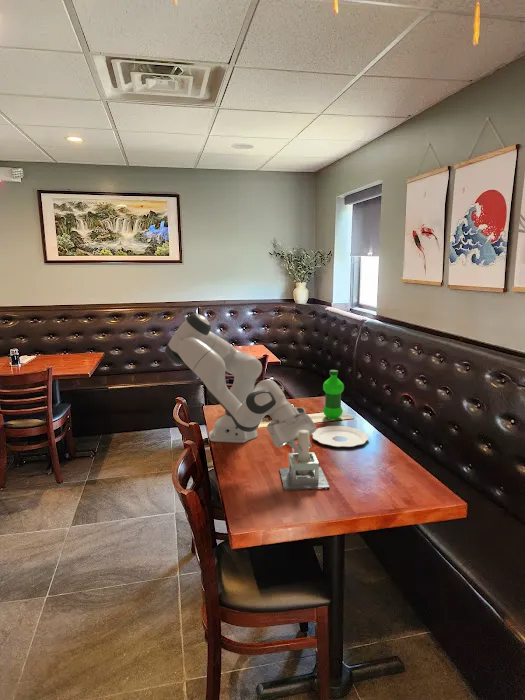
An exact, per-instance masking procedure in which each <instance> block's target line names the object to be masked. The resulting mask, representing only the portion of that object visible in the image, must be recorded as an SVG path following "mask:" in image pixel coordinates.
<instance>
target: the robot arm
mask: <svg viewBox="0 0 525 700" xmlns="http://www.w3.org/2000/svg"><path fill="white" fill-rule="evenodd" d="M211 325H212V324H211V323H210V322H209V320H208V319H207V317H205V316H204V315H202V314H199V313H197V312H196V313H191V314H189V315H188V316H187V317H186V318H185V320H184V321H183V323H181V325H180V326H179V327H178V328H177V329H176V330H175V333H174V334H173V335H172V337H171V338H170V340H169V342H168V343H167V344H166V346H165V347H164V354H165V356H166V357H167V359H168V360H169V361H171V362H172V363H174V364H176V365H178V366H179V365H186V366H187V367H188V369H190V370H191V371H192V372H193V373H194V374H195V375H196V376H198V378H199V379H200V381H202V382H203V384H204V386H205V387H206V389H207V390H208V392H209V393H210V395H211V396H212V397H213V398H214V399H215V400H216V401H217V402H218V404H219V405H220V406H221V407H222V408H223V409H224V410H225V412H224V414H223V415H222V416H220V417H219V418H218V419H217V420H215V423H214V425H213V429H211V430H210V431H209V433H208V439H209V441H211V442H215V443H217V442H218V443H239V444H242V443H247V442H248V441H251V440H253V439H256V438H257V437H258V430H257V429H258V428H259V426H260V424H261V423H262V421H263V420H264V418H265V416H270V418H271V420H272V422H269V423H268V424H267V428H266V429H267V430H268V433H269V435H270V438H271V440H272V442H273V444H274V446H275V447H277V448H281V447H284V446H286V445H289V447H291V448H292V449H293V450H294V451H295V453H299V452H301V451H302V448H301V447H300V446H299V447H298V444H296V442H297V441H298V431H299V430H308V431H309V436H310V435H312V433H314V432H315V431H316V429H317V426H316V424H315V422H314V421H313V419H312V418H311V416H310V415H309V414H307V411H306V409H305V408H304V407H298V406H297V407H296V406H292V404H291V403H290V402H289V401H288V400H287V398H286V396H285V392H284V393H283V392H282V390H281V389H280V387H279V386H280V385H279V384H277V383H276V382H275V381H274V380H273V379H270V378H267V379H263V380H261V381H259V382H258V383H256V382H257V379H258V378H259V377H260V376H261V374H262V371H263V365H262V362H261V361H260V360H259V359H258V358H257V357H256V356H254V355H252V354H248V353H245V352H244V351H240V350H239V349H237V348H235V347H234V346H233V345H232V344H230V343H229V342H228V341H227V340H226V339H223V338H222V337H221V336H219V335H218V334H215V332H212V331H211V330H212V329H211V328H212V326H211ZM226 372H227V373H229V374H230V375H233V378H234V379H233V382H232V383H233V384H232V386H231V387H230V388H228V386H227V382H226ZM268 414H269V415H268ZM312 447H313V446H312V443H311V441H310V438H309V449H310V448H312Z"/></svg>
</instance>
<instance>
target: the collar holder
mask: <svg viewBox="0 0 525 700" xmlns="http://www.w3.org/2000/svg"><path fill="white" fill-rule="evenodd" d="M296 461H297V462H296ZM279 470H280V471H279V475H280V474H281V475H280V478H281V482H282V483H283V484H282V488H283V491H284V490H293V491H301V490H300V489H318V488H330V484H329V482H328V480H327V478H326V475H325V473H324V471H323V469H322V467H321V466H320V464H319V460H318V458H317V456H316V454H315V452H311V451H309V462H298V453H297V452H289V453H288V467H284V468H282V467H281V468H279ZM298 470H309V475H307V476H301V475H299V474H298Z"/></svg>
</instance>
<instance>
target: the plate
mask: <svg viewBox="0 0 525 700" xmlns="http://www.w3.org/2000/svg"><path fill="white" fill-rule="evenodd" d="M311 435H312V439H313V440H314V441H316V442H318V443H319V444H321V445H325V446H329V447H334V448H354V447H358V446H362V445H364V444H366V442H368V441H369V439H370V438H369V436H368V434H367V433H366V432H365V431H362V430H360V429H359V428H356V427H349V426H345V425H327V426H324V427H323V426H322V427H318V428H316V431H315V432H314V433H312V434H311ZM335 437H342V438H345V439H346V440H344V441H337V440H335V439H333V438H335Z"/></svg>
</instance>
